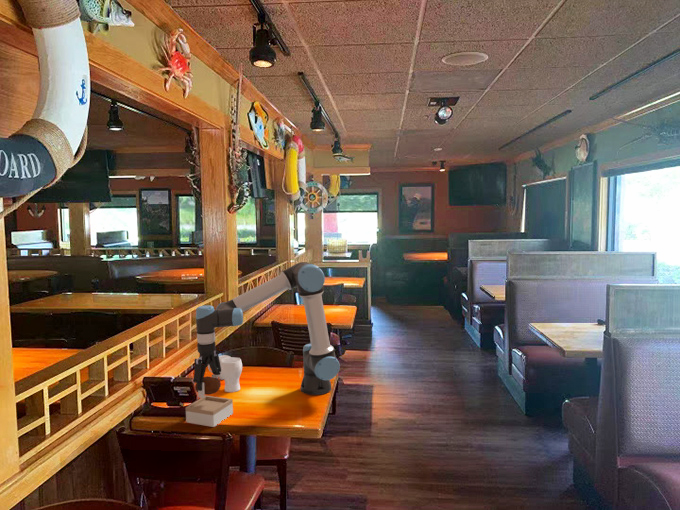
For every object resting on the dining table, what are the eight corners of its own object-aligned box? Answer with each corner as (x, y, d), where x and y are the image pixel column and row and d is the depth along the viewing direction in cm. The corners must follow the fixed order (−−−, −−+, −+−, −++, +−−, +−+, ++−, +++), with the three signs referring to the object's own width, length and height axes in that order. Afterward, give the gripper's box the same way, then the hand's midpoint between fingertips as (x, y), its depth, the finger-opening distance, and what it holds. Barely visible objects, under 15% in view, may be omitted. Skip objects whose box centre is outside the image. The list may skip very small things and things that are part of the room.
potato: (223, 394, 213) (222, 377, 212) (198, 399, 208) (197, 382, 207) (218, 388, 221) (217, 371, 220) (193, 393, 215) (192, 376, 215)
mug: (228, 374, 271) (227, 354, 270) (233, 379, 264) (232, 358, 263) (206, 379, 265) (205, 358, 264) (211, 383, 258) (210, 362, 257)
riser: (233, 413, 219) (232, 399, 219) (213, 427, 207) (213, 411, 206) (206, 409, 225) (205, 395, 224) (186, 422, 212) (185, 407, 211)
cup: (238, 394, 243) (236, 364, 241) (217, 392, 245) (216, 363, 243) (246, 386, 253) (245, 357, 252) (227, 385, 255) (225, 356, 254)
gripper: (214, 335, 224) (216, 383, 226) (182, 348, 204) (184, 401, 206) (228, 336, 221) (230, 385, 223) (197, 349, 201) (200, 403, 203)
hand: (208, 393), depth 214 cm, fingers closed on potato, 9 cm apart
